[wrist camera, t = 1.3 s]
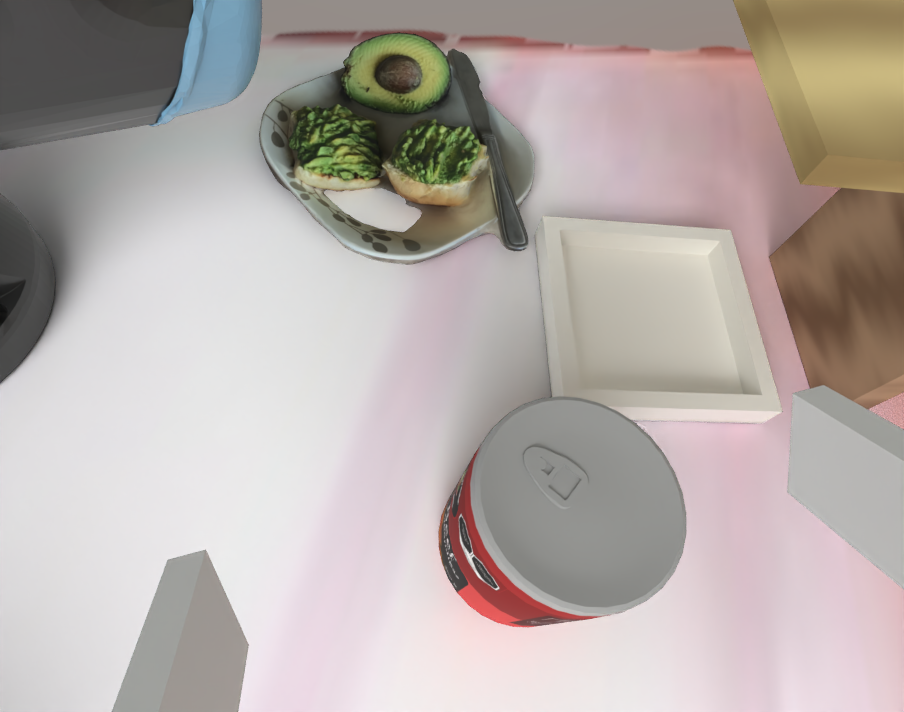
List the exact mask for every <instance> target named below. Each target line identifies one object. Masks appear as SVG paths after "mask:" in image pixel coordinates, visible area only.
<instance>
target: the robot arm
mask: <svg viewBox="0 0 904 712" xmlns="http://www.w3.org/2000/svg"><path fill="white" fill-rule="evenodd" d="M261 28H262V0H0V150H4V149H10V148H16V147H22V146H27V145H33V144H39V143H45V142H51V141H56V140H62V139H68V138H74V137H80V136H85V135H91V134H97V133H103V132H109V131H114V130H120V129H126V128H132V127H137V126H143V125H149V126H158V125H159V124H166V123H167V122H169V121H171V120H172V119H173V118H174V117H176V116H180V115H184V114H188V113H192V112H196V111H200V110H204V109H207V108H211V107H215V106H219V105H223V104H226V103H228V102H230V101H231V100H233V99H235V98H237V96H238V95H240V94H241V93H242V92H243V91H244V90H245V89H246V87H247V86H248V84H249V82H250V80H251V78H252V76H253V74H254V71H255V68H256V65H257V61H258V56H259V50H260V42H261ZM54 293H55V274H54V268H53V263H52V260H51V257H50V254H49V252H48V250H47V248H46V246H45V244H44V243H43V241H42V239H41V238H40V237H39V235H38V234H37V233H36V231H35V230H34V229H33V227H32V226H31V225H30V224H29V222H28V221H27V220H26V218H25V217H24V216H23V214H22V213H21V212H20V211H19V210H18V209H17V208H16V207H15V206H14V205H13V204H12V203H11V202H10V201H9V200H7V199H6V198H5V197H4V196H3V195H1V194H0V382H1V381H2V380H3V379H4V378H5V377H7V376H8V375H9V374H10V373H11V372H12V371H13V370H14V369H15V368H16V367H17V366H18V365H19V363H20V362H21V361H22V360H23V359H24V358H25V357H26V355H27V354H28V353H29V351H30V350H31V349H32V347H33V346H34V344H35V343H36V341H37V340H38V338H39V336H40V334H41V333H42V331H43V329H44V327H45V325H46V322H47V320H48V317H49V315H50V312H51V308H52V304H53V299H54ZM787 492H788V493H789V494H790V495H791V496H793V497H794V498H795V499H796V500H797V501H799V502H800V503H801V504H802V505H803V506H805V507H806V508H807V509H808V510H809V511H811V512H812V513H813V514H814V515H815V516H817V517H818V518H819V519H820V520H821V521H822V522H824V523H825V524H826V525H827V526H828V527H830V528H831V529H832V530H833V531H834V532H836V533H837V534H838V535H839V536H840V537H842V538H843V539H844V540H845V541H846V542H848V543H849V544H850V545H851V546H852V547H854V548H855V549H856V550H857V551H858V552H860V553H861V554H862V555H863V556H864V557H866V558H867V559H868V560H869V561H870V562H872V563H873V564H874V565H875V566H876V567H877V568H879V569H880V570H881V571H882V572H883V573H885V574H886V575H887V576H888V577H889V578H891V579H892V580H893V581H894V582H895V583H897V584H898V585H899V586H900V587H901V588H903V589H904V429H902V428H900V427H898V426H896V425H895V424H893V423H891V422H889V421H887V420H886V419H884V418H882V417H880V416H878V415H877V414H875V413H873V412H871V411H869V410H868V409H866V408H864V407H862V406H860V405H859V404H857V403H855V402H853V401H852V400H850V399H848V398H846V397H844V396H843V395H841V394H839V393H837V392H835V391H834V390H832V389H830V388H828V387H826V386H825V385H822V386H818V387H815V388H811V389H807V390H803V391H800V392H796V393H793V399H792V417H791V436H790V454H789V472H788V490H787ZM248 646H249V644H248V642H247V640H246V638H245V636H244V633H243V631H242V629H241V627H240V624H239V622H238V620H237V618H236V616H235V613H234V611H233V609H232V607H231V604H230V602H229V600H228V598H227V596H226V593H225V591H224V589H223V587H222V584H221V582H220V580H219V578H218V576H217V573H216V571H215V569H214V567H213V565H212V562H211V560H210V558H209V556H208V553H207V551H206V550H203V551H199V552H195V553H192V554H188V555H184V556H180V557H177V558H173V559H169V560H168V561H167V564H166V566H165V569H164V572H163V574H162V577H161V580H160V582H159V585H158V588H157V591H156V593H155V596H154V599H153V601H152V604H151V607H150V610H149V612H148V615H147V618H146V620H145V623H144V626H143V629H142V631H141V634H140V637H139V639H138V642H137V645H136V647H135V650H134V653H133V656H132V658H131V661H130V664H129V666H128V669H127V672H126V675H125V677H124V680H123V683H122V685H121V688H120V691H119V693H118V696H117V699H116V702H115V704H114V707H113V710H112V712H238V709H239V703H240V697H241V690H242V684H243V678H244V671H245V665H246V659H247V652H248Z"/></svg>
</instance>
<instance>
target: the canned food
mask: <svg viewBox="0 0 904 712" xmlns="http://www.w3.org/2000/svg"><path fill="white" fill-rule="evenodd" d="M685 538H686V510H685V504H684V499H683V494H682V491H681V488H680V485H679V483H678V480H677V477H676V475H675V472H674V470H673V469H672V467H671V465H670V463H669V462H668V460H667V458H666V456H665V455H664V453H663V452H662V451H661V449H660V448H659V447H658V446H657V444H656V443H655V442H654V441H653V440H652V438H651V437H650V436H649V435H648V434H647V433H646V432H644V431H643V430H642V429H641V428H640V427H639V426H638V425H637V424H636V423H635V422H633V421H631V420H630V419H628V418H627V417H625V416H624V415H622V414H621V413H619V412H618V411H616V410H614V409H611V408H609V407H607V406H605V405H603V404H600V403H598V402H594V401H590V400H586V399H582V398H576V397H564V396H558V397H549V398H541V399H538V400H535V401H532V402H529V403H526V404H524V405H522V406H520V407H519V408H517V409H515V410H513V411H512V412H510V413H509V414H507V415H506V416H505V417H504V418H503V419H502V420H501V421H500V422H499V423H498V424H497V425H495V426H494V427H493V428H492V429H491V431H490V432H489V433H488V435H487V436H486V438H485V439H484V441H483V442H482V444H481V445H480V447H479V448H478V450H477V451H476V453H475V454H474V456H473V458H472V460H471V461H470V463H469V465H468V467H467V468H466V470H465V472H464V474H463V475H462V477H461V479H460V481H459V482H458V484H457V486H456V488H455V489H454V491H453V493H452V495H451V496H450V498H449V500H448V502H447V504H446V506H445V509H444V511H443V514H442V516H441V521H440V527H439V550H440V555H441V560H442V564H443V566H444V569H445V571H446V574H447V576H448V579H449V580H450V582H451V583H452V585H453V587H454V588H455V590H456V591H457V593H458V594H459V595H460V596H461V597H462V598H463V599H464V601H465V602H466V603H467V604H468V605H469V606H470V607H472V608H473V609H474V610H476V611H477V612H479V613H480V614H481V615H483V616H485V617H487V618H489V619H491V620H493V621H495V622H497V623H501V624H505V625H509V626H513V627H534V626H541V625H549V624H556V623H563V622H571V621H578V620H586V619H592V618H597V617H602V616H608V615H611V614H617V613H622V612H624V611H626V610H628V609H631V608H633V607H635V606H637V605H639V604H641V603H643V602H645V601H647V600H648V599H649V598H651V597H652V596H653V595H654V594H656V593H657V592H658V591H659V590H661V589H662V588H663V586H664V585H665V584H666V582H667V581H668V580H669V578H670V577H671V576H672V575H673V573H674V572H675V569H676V567H677V565H678V563H679V560H680V558H681V556H682V553H683V548H684V543H685Z"/></svg>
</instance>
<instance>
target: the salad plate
mask: <svg viewBox="0 0 904 712" xmlns="http://www.w3.org/2000/svg"><path fill="white" fill-rule="evenodd" d="M343 63H344V66H345V68H342V69H340V70H337V71H335V72H332V73H330V74H328V75H325V76H321V77H318V78H316V79H314V80H311V81H309V82H306V83H303V84H300V85H298V86H295V87H293V88H291V89H289V90H287V91H285V92H283V93H282V94H280V95H278V96H277V97H275V98H274V99H273V100H272V101H271V102H270V103H269V104H268V106H267V108H266V109H265V111H264V113H263V116H262V121H261V126H260V133H259V137H260V145H261V149H262V152H263V155H264V157H265V160H266V162H267V164H268V166H269V168H270V170H271V171H272V173H273V175H274V176H275V178H276V179H277V181H278V182H279V183H280V184H281V185H282V186H283V187H285V188H286V189H288V190H289V191H291V192H292V193H293V194H294V195H295V197H296V198H297V199H298V200H299V201H300V202H301V203H302V204H303V205H304V207H305V208H306V209H307V210H308V212H309V213H310V214H311V215H312V217H313V218H314V219H315V220H316V221H317V222H318V223H319V224H320V225H322V226H323V227H324V228H325V229H326V230H327V231H329V232H330V233H331V234H332V235H333V236H334V237H336V238H337V240H338V241H339V242H340V243H341V244H342V245H343V246H344V247H345V248H347V249H349V250H351V251H353V252H356V253H358V254H360V255H363V256H365V257H367V258H370V259H373V260H378V261H383V262H391V263H398V264H406V265H409V264H415V263H419V262H422V261H425V260H428V259H431V258H434V257H437V256H439V255H441V254H444V253H446V252H448V251H450V250H452V249H454V248H456V247H458V246H460V245H461V244H463V243H465V242H466V241H468V240H470V239H473V238H476V237H478V236H480V235H483V234H488V233H491V234H494V235H496V236H497V237H498V238H499V239H500V241H501V243H502V245H503V246H504V247H506V248H507V249H509V250H513V251H521V250H524V249H526V247H527V245H528V236H527V233H526V230H525V227H524V223H523V221H522V218H521V216H520V213H519V210H518V208H519V207H520V205H521V204H522V201H523V200H524V199H525V198H526V196H527V195H528V193H529V191H530V190H531V186H532V181H533V176H534V153H533V150H532V147H531V146H530V144H529V142H528V141H526V139H525V138H524V137H523V135H522V134H521V133H520V132H519V131H518V130H517V129H516V128H515V127H514V126H513V125H512V124H511V123H510V122H509V121H508V120H507V119H506V118H505V117H503V116H502V115H501V114H500V113H499V112H498V111H497V109H495V108H494V107H493V106H492V105H491V104H490V103H489V102H487V101H486V100H485V99H484V97H483V95H482V92H481V90H480V89H479V83H480V81H479V78H478V75H477V73H476V71H475V69H474V67H473V65H472V63H471V61H470V59H469V58H468V57H467V55H466V54H464V53H462V52H458V51H457V50H455V49H452V50H450V51H448V55H447V57H446V56H445V55H444V53H443V52H442V51H441V50H440V49H439V48H438V47H437V46H436V45H435V44H434V43H433V42H431V41H430V40H427V39H425V38H423V37H421V36H418V35H416V34H407V33H392V34H384V35H380V36H377V37H373V38H371V39H368V40H366V41H364V42H362V43H360V44H359V45H357V46H355V47H354V48H353V49H352V50H351V52H350V54H349V57H348V58H347V59H345V60H344V62H343ZM365 188H384V189H386V190H388V191H391V192H393V193H396V194H399V195H400V196H402V197H403V198H405V200H406V204H408V205H409V206H412V207H415V208H418V209H420V210H421V212H422V215H421V217H420V218H419V219H418V220H417V222H416V223H415V224H414V225H413V226H412V227H410V228H409V229H408V230H407V231H405V232H395V231H387V230H382V229H379V228H376V227H373V226H370V225H367V224H363V223H361V222H359V221H357V220H355V219H354V218H352V217H351V216H350V215H347V214H345V213H344V212H343V211H342V210H341V209H339V208H338V206H336V205H335V204H334V203H333V202H332V201H331V200H330V199H329V198H328V197H327V196H326V195H325V194H324V193H323V192H324V191H325V190H334V191H336V192H339V191H344V190H358V189H365Z"/></svg>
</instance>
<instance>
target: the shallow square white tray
mask: <svg viewBox="0 0 904 712" xmlns="http://www.w3.org/2000/svg"><path fill="white" fill-rule="evenodd" d="M535 244H536V253H537V262H538V272H539V281H540V291H541V300H542V310H543V319H544V329H545V338H546V347H547V357H548V366H549V376H550V385H551V395H552V397H558V396H564V397H576V398H582V399H586V400H590V401H594V402H598V403H600V404H603V405H605V406H607V407H609V408H611V409H614V410H616V411H618V412H619V413H621V414H622V415H624V416H625V417H627V418H628V419H630V420H647V421H684V422H721V423H758V424H762V423H764V422H766V421H767V420H769V419H771V418H773V417H774V416H776V415H778V414H780V413H781V412H783V411H782V407H781V404H780V400H779V397H778V393H777V390H776V386H775V383H774V379H773V376H772V372H771V369H770V365H769V362H768V358H767V355H766V351H765V348H764V344H763V341H762V337H761V334H760V330H759V327H758V323H757V320H756V316H755V313H754V309H753V306H752V302H751V299H750V295H749V292H748V289H747V285H746V282H745V278H744V275H743V271H742V268H741V264H740V261H739V257H738V254H737V250H736V247H735V243H734V240H733V236H732V233H731V230H725V229H712V228H699V227H685V226H672V225H658V224H645V223H632V222H618V221H605V220H591V219H578V218H564V217H551V216H543V217H542V219H541V221H540V224H539V226H538V228H537V231H536V233H535Z"/></svg>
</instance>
